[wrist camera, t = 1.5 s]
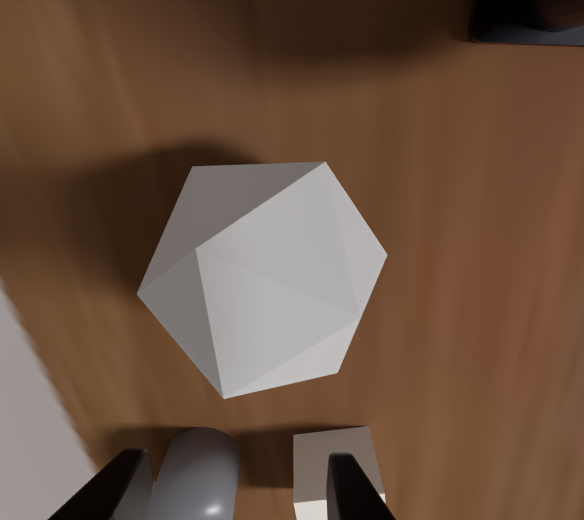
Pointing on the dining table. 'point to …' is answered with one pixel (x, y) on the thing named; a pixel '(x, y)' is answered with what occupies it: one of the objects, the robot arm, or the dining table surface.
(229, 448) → the grey rounded piece
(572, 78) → the dining table surface
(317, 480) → the cream block
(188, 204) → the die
